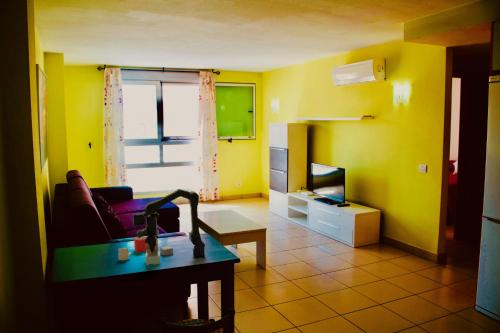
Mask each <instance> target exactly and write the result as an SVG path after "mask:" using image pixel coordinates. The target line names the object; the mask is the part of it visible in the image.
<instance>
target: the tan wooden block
mask: <svg viewBox="0 0 500 333" xmlns="http://www.w3.org/2000/svg"><path fill="white" fill-rule="evenodd" d="M160 255H162V256H163V255H164V257H165V255H166V256H170V255H174V248H173V247H172V246H171V245H166V246H161V247H160Z"/></svg>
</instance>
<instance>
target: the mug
mask: <svg viewBox="0 0 500 333" xmlns="http://www.w3.org/2000/svg"><path fill="white" fill-rule="evenodd" d="M146 237H147V236H143V237H141V238H138V236H136V237H134V238H133V244H134V245H133V247H134V250H133V251H134V252H136V253H142V252H147V243H145V238H146Z"/></svg>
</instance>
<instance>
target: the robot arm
mask: <svg viewBox="0 0 500 333" xmlns="http://www.w3.org/2000/svg"><path fill="white" fill-rule="evenodd" d="M178 198H183V199H187V200H188V204H189V208H190V221H191V223H190V224H191V225H190V226H191V230H190V232H189V231H188V235H189V238H188V239H189V241H190V242H191V244H192V245H193V248H192V256H193V258H194V259H198V258H199V259H201V258H206V255H205V254H206V252H205V251H206V250H205V247H206V244H205V242H204V240H202V237H201V233H200V230H199V214H198V207H199V202H200V196H199V194H198V193H197V192H196V191H191V190H190V191H189V190H188V191H187V190H184V189H181V188H178V189H176V190H175V191H172V192H171V193H169V194H167V195H164V196H163V197H161V198H159V199H157V200H156V199H155V200H153V201H149V202H147V203H146V204H145V209H144V210H142V213H133V214H132V224H133V227H138V226H144V224H146V226H145V228H142V229H140V230H137V231H136V237H138V238H141V237H143V236H144V237H146V238H145V243H148V244H149V246H150V250H151V252H153V251H154V248H155V245H156V242H157V240H158V239H159V236H160V235H159V234H160V230H158V224H157V222H158V221H157V217H160V216H161V215H160V214H159V213H158V212H157V211H158V210H159V209H161V208H162V207H163V206H166V205H167V204H169V203H171V202H173V201H174V200H177V199H178Z"/></svg>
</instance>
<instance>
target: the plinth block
mask: <svg viewBox="0 0 500 333" xmlns="http://www.w3.org/2000/svg"><path fill="white" fill-rule="evenodd" d="M149 264H153V265H160V264H161V251H159V250H158V253H157V254H147V252H145V265H146V266H150V265H149Z"/></svg>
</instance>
